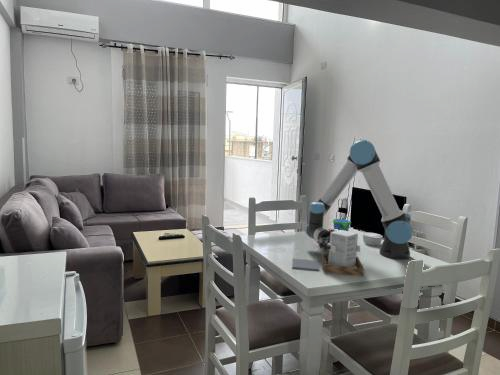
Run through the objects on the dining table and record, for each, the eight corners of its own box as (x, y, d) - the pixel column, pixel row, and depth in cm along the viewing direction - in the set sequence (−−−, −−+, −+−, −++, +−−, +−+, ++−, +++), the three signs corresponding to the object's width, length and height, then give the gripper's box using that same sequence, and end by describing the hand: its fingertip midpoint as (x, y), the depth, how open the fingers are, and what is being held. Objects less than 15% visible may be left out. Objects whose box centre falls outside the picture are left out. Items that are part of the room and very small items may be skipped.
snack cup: (351, 240, 225) (353, 224, 224) (333, 239, 226) (335, 222, 224) (346, 234, 240) (348, 218, 239) (330, 233, 241) (331, 217, 240)
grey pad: (317, 262, 181) (317, 260, 181) (319, 271, 169) (319, 269, 169) (292, 260, 182) (292, 258, 182) (292, 268, 170) (292, 266, 170)
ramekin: (379, 247, 214) (380, 238, 213) (359, 244, 219) (360, 235, 218) (383, 243, 223) (384, 234, 223) (364, 240, 229) (365, 231, 228)
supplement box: (355, 269, 175) (359, 233, 172) (345, 273, 168) (348, 236, 166) (337, 263, 181) (340, 229, 179) (326, 267, 175) (329, 231, 173)
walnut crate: (357, 263, 182) (357, 256, 182) (363, 276, 165) (363, 268, 165) (321, 260, 184) (322, 253, 184) (323, 272, 167) (324, 265, 167)
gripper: (344, 243, 195) (369, 256, 174) (301, 244, 187) (322, 258, 167) (345, 229, 194) (371, 240, 173) (302, 230, 186) (324, 242, 166)
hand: (347, 249), depth 170 cm, fingers closed on supplement box, 12 cm apart
